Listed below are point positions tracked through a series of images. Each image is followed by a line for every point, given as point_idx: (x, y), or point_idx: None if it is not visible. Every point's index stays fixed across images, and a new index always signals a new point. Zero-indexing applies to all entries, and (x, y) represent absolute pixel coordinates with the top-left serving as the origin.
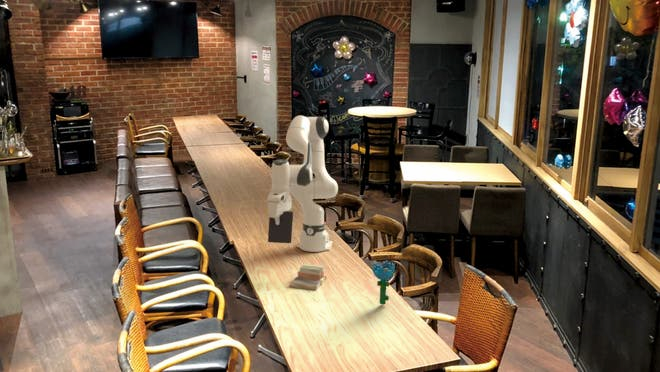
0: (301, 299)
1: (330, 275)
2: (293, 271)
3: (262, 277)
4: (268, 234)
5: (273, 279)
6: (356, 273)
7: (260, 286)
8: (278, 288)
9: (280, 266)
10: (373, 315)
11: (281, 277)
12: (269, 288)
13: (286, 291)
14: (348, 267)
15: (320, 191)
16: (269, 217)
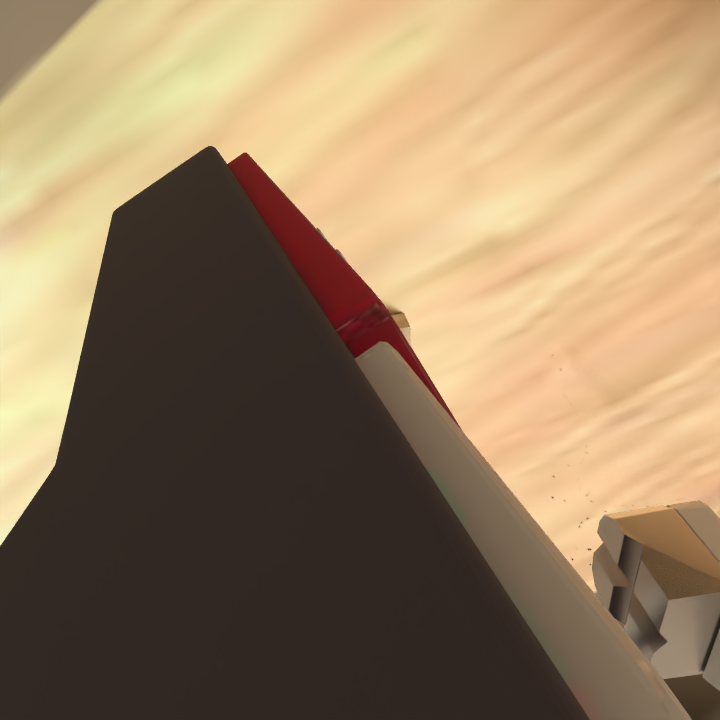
0: (22, 498)
1: (498, 453)
2: (498, 203)
3: (236, 14)
4: (105, 251)
5: (243, 146)
6: (576, 542)
7: (23, 131)
8: (87, 289)
9: (597, 19)
10: None
11: (321, 185)
12: (38, 228)
13: (74, 366)
14: (673, 474)
15: None
16: (39, 568)
